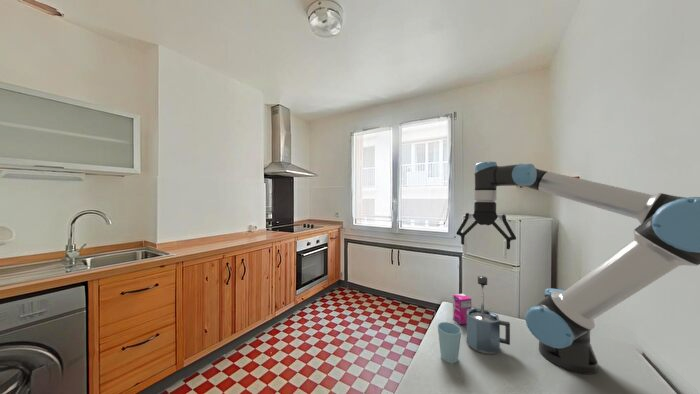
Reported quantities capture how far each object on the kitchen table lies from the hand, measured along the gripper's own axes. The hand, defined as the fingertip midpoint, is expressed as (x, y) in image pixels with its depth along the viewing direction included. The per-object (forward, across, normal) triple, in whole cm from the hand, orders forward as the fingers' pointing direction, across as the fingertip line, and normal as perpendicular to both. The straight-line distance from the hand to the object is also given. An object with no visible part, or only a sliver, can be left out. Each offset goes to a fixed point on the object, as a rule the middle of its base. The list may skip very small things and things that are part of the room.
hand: (484, 255), depth 92 cm
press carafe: (+33, -1, +4) cm, 34 cm away
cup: (+34, +10, +18) cm, 40 cm away
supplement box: (+34, +8, -11) cm, 37 cm away
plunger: (+24, 0, +4) cm, 24 cm away
